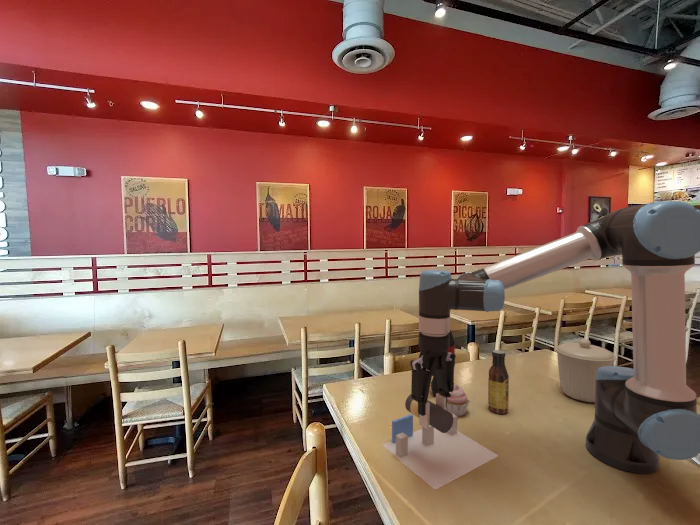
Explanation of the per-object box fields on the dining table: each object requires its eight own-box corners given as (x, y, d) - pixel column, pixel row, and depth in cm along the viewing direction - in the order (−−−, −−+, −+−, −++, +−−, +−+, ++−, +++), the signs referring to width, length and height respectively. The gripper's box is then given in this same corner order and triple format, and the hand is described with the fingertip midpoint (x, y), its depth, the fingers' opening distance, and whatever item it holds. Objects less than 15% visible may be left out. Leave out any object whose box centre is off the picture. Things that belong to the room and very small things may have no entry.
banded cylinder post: (453, 429, 83) (453, 409, 83) (438, 436, 81) (438, 415, 80) (419, 409, 94) (419, 391, 93) (404, 413, 91) (405, 395, 91)
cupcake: (450, 423, 106) (450, 391, 105) (435, 408, 115) (435, 380, 114) (476, 418, 108) (476, 388, 108) (459, 405, 117) (459, 376, 117)
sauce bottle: (510, 415, 110) (512, 355, 109) (490, 414, 111) (491, 354, 110) (505, 406, 116) (506, 349, 115) (486, 404, 118) (487, 348, 116)
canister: (564, 405, 117) (566, 345, 116) (547, 383, 135) (548, 331, 133) (625, 411, 113) (628, 348, 111) (599, 388, 130) (601, 333, 129)
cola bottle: (452, 390, 129) (453, 312, 127) (456, 400, 121) (457, 317, 119) (429, 389, 130) (430, 311, 128) (432, 399, 122) (433, 316, 120)
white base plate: (498, 458, 89) (499, 433, 88) (435, 493, 77) (435, 464, 76) (441, 423, 106) (441, 402, 105) (381, 447, 94) (381, 423, 93)
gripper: (447, 324, 92) (446, 407, 94) (395, 334, 83) (395, 426, 84) (470, 330, 86) (468, 420, 87) (417, 342, 76) (415, 441, 78)
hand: (432, 423), depth 86 cm, fingers closed on banded cylinder post, 5 cm apart
